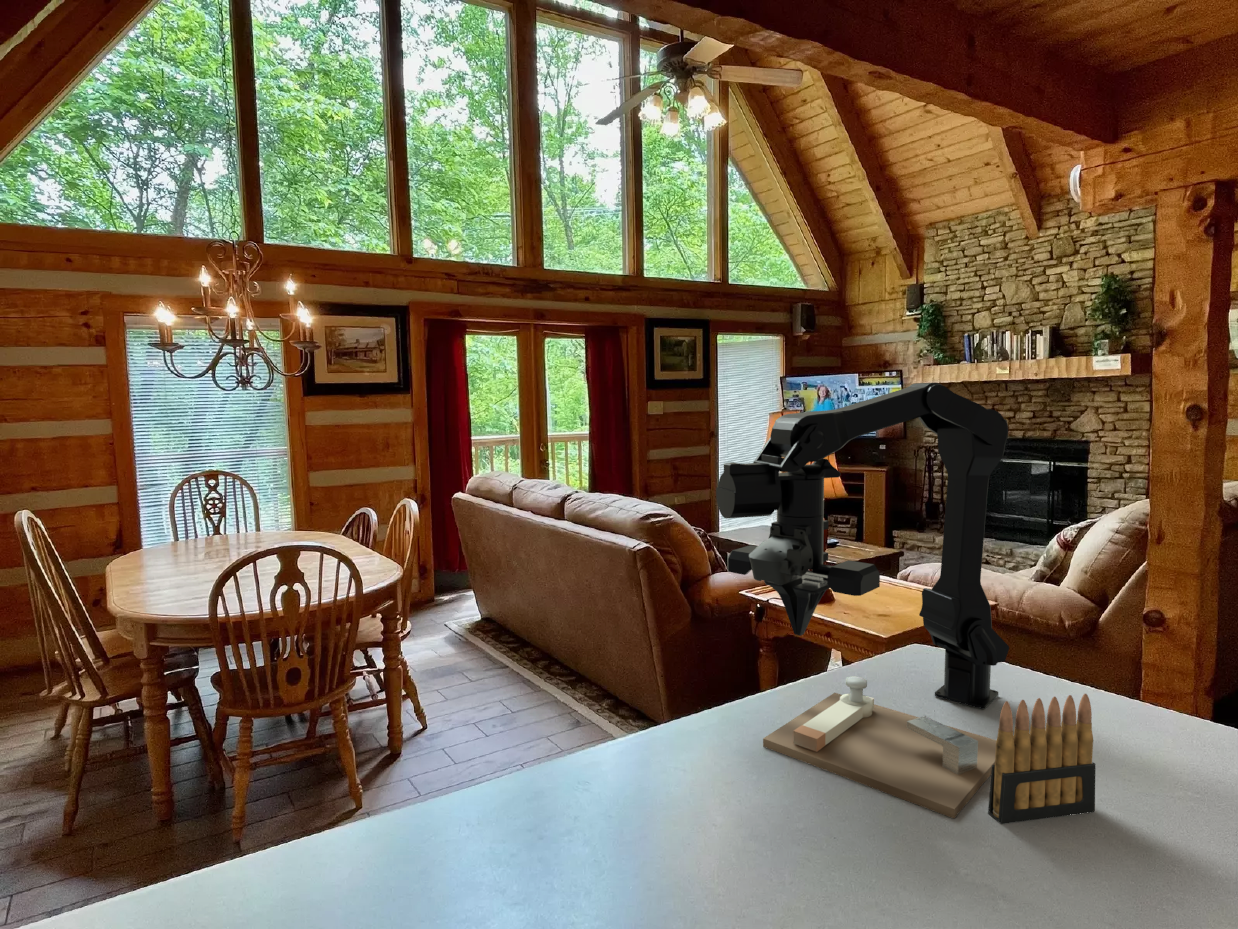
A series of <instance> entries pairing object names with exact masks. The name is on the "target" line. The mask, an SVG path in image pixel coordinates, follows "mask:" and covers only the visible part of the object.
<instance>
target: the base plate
mask: <svg viewBox="0 0 1238 929" xmlns="http://www.w3.org/2000/svg"><path fill="white" fill-rule="evenodd" d="M842 695H843V694H841V693H838V692H833V693H832V694H830V695H828V696H827V697H826V698H824V699H823V700H821V701H819V702H818V703H816V704H814V705H813V706H812V707H810V708H808V709H807V710H806V711H804V712H802V713H801V714H799V715H798V716H795V717H793V719H791V720H789V721H788V722H786V723H784V724H783V725H782V726H780V727H779V728H777V729H775V730H774V731H771V733H769V734H767V735H766V736H765V737H763V738H762V746H763V748H765V749H769V750H771V751H774V752H776V753H780V754H783V755H785V756H788V757H789V758H793V759H795V760H798V761H800V762H803V763H806V764H808V765H810V766H814V767H817V768H819V769H821V770H824V771H827V772H830V773H832V774H835V775H837V776H839V777H843V778H845V779H848V780H851V781H854V782H855V783H859V784H862V785H865V786H866V787H869V788H872V789H874V790H877V791H880V792H883V793H885V794H887V795H891V796H893V797H895V798H898V799H901V800H904V801H907V802H909V803H912V804H914V805H917V806H919V807H922V808H925V809H927V810H929V811H932V812H935V813H938V814H941V815H943V816H946V817H948V818H952V819H953V820H954V819H956V817H957V816H958V815H959V814H960V813H961V811H962V810H963V809H964V808H965V807H966V806H967V804H968V803H969V801H970V800H971V799H972V798H973V797H974V796H975V795H976V793H977V792H978V791H979V789H980V788H981V787H982V786H983V785H984V784H985V782H986V781H987V780H988V779H989V777H991V769H992V765H995V752H996V740H997V739H993V738H990V737H986V736H983V735H980V734H976V733H974V732H970V731H967V730H964V729H960V728H956V727H953V726H949V725H945V724H944V725H945V726H948V727H950V728H952V729H954V730H956V731H958V732H960V733H962V734H964V735H966V736H969V737H971V738H973V739H975V740H977V741H978V755H977V768H976V769H973V770H970V771H967V772H965V773H962V774H959V775H958V774H956V773H954V772H952V771H950V770H948V769H946V768H945V767H943V746H941V745H939V744H937V743H935V742H933V741H932V740H930V739H928V738H926V737H924V736H922V735H920V734H918V733H916V732H914V731H912V730H910V729H908V728H907V721H909V720H913V719H916V718H920V717H918V716H915V715H912V714H909V713H905V712H902V711H899V710H895V709H892V708H888V707H885V706H882V705H878V704H875V703H874V710H873V711H872V715H871V716H869V717H866V718H862V719H860V720H859V721H858V722H856V723H855V724H854V725H852V726H851V727H850V728H848V729H847V730H845V731H844V732H843V733H841V734H840V735H839V736H837V737H836V738H835V739H833V740H832V741H831V742H829V743H828V744H826V745H825V746H824V747H823V748H821V749H820V750H819V751H817V752H816V751H813V750H810V749H807V748H805V747H802V746H799V745H796V744H794V743H793V731H794V730H795V729H797V728H798V727H800V726H801V725H803V724H805V723H806V722H808V721H809V720H811V719H812V718H814V717H815V716H817V715H818V714H820V713H821V712H823V711H824V710H826V709H827V708H829V707H830V706H832V705H833V704H835V703H836V702H838V701H839V700H840V697H841V696H842Z"/></svg>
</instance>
